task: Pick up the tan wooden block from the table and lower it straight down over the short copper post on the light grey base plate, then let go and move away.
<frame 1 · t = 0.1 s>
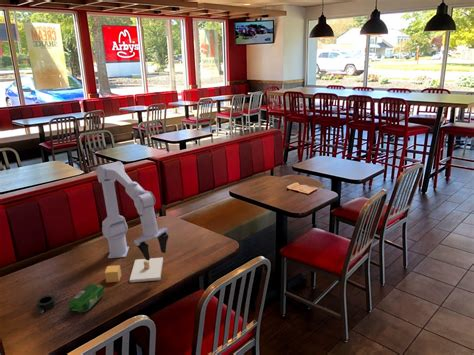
hand: (155, 256, 151), 11 cm above the table, fingers open, 7 cm apart
tan wooden block: (113, 278, 156), on the table
duct tape: (47, 307, 140), on the table
post plate: (147, 270, 161), on the table
snack package: (88, 304, 140), on the table
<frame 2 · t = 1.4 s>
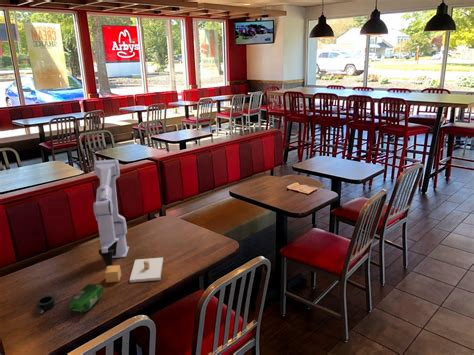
hand: (111, 260, 153), 8 cm above the table, fingers open, 7 cm apart
nothing on the table moved.
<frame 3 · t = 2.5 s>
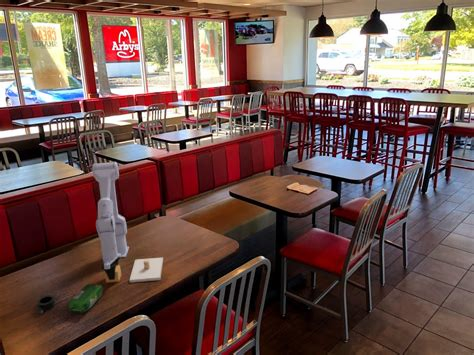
hand: (113, 275, 155), 1 cm above the table, fingers closed on tan wooden block, 5 cm apart
tan wooden block: (113, 278, 156), on the table, touching gripper
everything else where it was.
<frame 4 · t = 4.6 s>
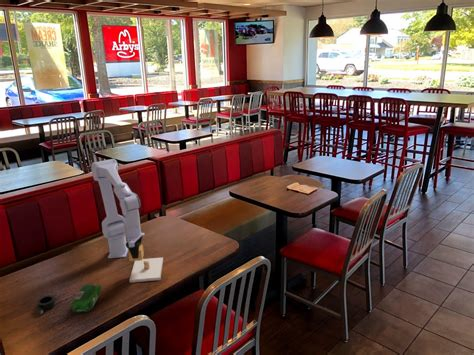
hand: (136, 254, 157), 8 cm above the table, fingers closed on tan wooden block, 5 cm apart
tan wooden block: (136, 257, 157), point 7 cm above the table, touching gripper
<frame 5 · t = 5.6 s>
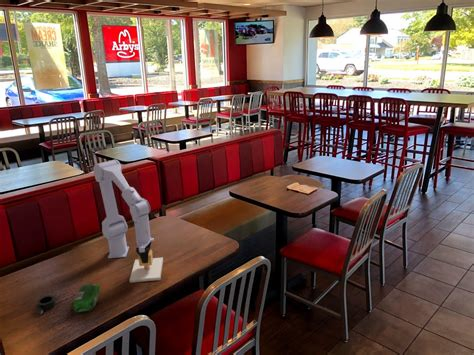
hand: (146, 259, 159), 5 cm above the table, fingers closed on tan wooden block, 5 cm apart
tan wooden block: (146, 262, 160), point 4 cm above the table, touching gripper
when the fingers open (4 cm above the table, at t = 6.5 s): tan wooden block drops 1 cm, resting on post plate.
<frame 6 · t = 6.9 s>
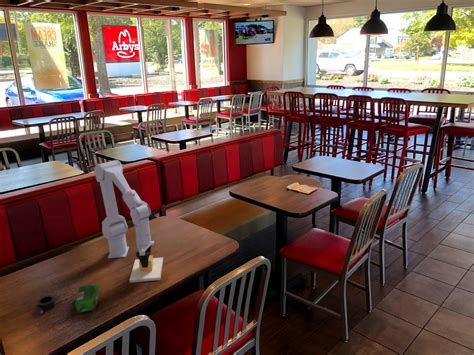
hand: (146, 262, 160), 4 cm above the table, fingers open, 7 cm apart
tan wooden block: (146, 268, 160), point 1 cm above the table, touching post plate
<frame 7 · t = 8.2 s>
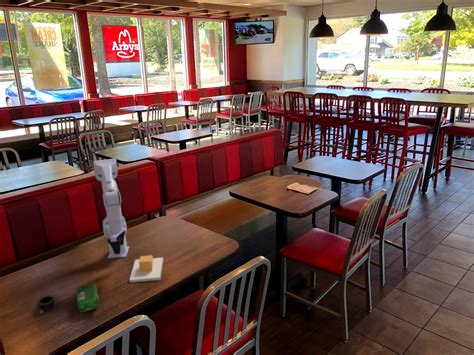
hand: (119, 249, 160), 9 cm above the table, fingers open, 7 cm apart
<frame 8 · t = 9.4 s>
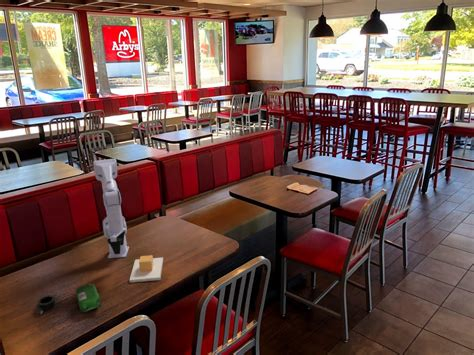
hand: (119, 249, 160), 9 cm above the table, fingers open, 7 cm apart
at the end: tan wooden block 0.0 cm off-centre on the post plate, point 1.2 cm above the post plate's base; tan wooden block tilted 0°; the gripper is holding nothing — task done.
